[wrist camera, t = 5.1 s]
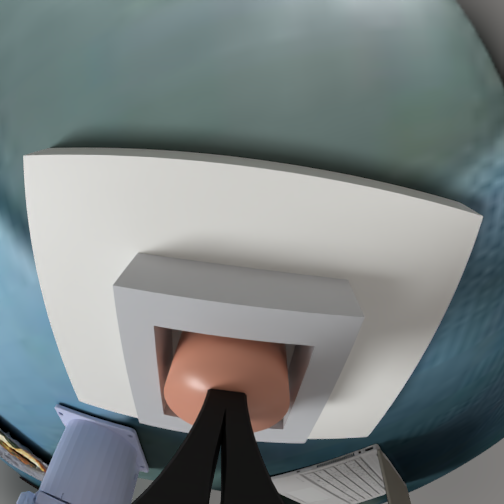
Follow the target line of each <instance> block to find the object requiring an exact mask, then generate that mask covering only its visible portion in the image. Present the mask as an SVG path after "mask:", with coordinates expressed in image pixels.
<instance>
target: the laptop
mask: <svg viewBox="0 0 504 504" xmlns="http://www.w3.org/2000/svg"><path fill="white" fill-rule="evenodd" d="M353 453H354V455H355V456H353V457H352V456H351V454H352V455H353ZM349 454H350V456H351V457H350V456H349ZM349 454H346V455H344V456H345V459H344V456H341V457H338V458H339V460H340V458H341V460H340V461H339V460H338V462H337V460H336V462H335V459H338V458H335V459H332V460H329V461H330V463H331V461H332V464H328V463H327V465H326V462H329V461H326V462H323V463H319V464H316V465H313V466H310V467H306V468H303V469H300V470H296V471H292V472H289V473H285V474H281V475H277V476H273V477H271V479H272V481H273V483H274V485H275V487H276V489H277V491H278V493H280V494H282V495H284V496H286V497H288V498H290V499H292V500H295V501H297V502H299V503H301V504H356V503H360V502H363V501H366V500H369V499H372V498H375V497H378V496H381V495H384V494H386V495H387V500H388V504H411V502H410V498H409V494H408V490H407V487H406V484H405V482H403V480H402V478H401V477H400V475H399V474H398V472H397V471H396V469H395V468H394V467H393V465H392V464H391V462H390V461H389V459H388V458H387V457H386V455H385V454H384V453H383V452H382V451H381V449H380V447H379V445H378V444H374V445H371V446H368V447H366V448H363V449H360V450H358V451H355V452H352V453H349ZM347 455H348V456H349V458H348V456H347ZM346 456H347V459H346ZM342 457H343V460H342ZM333 460H334V463H333ZM324 463H325V466H324ZM320 464H321V466H320V467H319V466H318V468H317V465H320ZM322 464H323V466H322Z"/></svg>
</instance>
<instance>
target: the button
mask: <svg viewBox="0 0 504 504" xmlns="http://www.w3.org/2000/svg"><path fill="white" fill-rule="evenodd" d="M209 389H219V390H226V391H235V392H244V393H245V394H246V395H247V404H248V411H249V416H250V421H251V425H252V429H253V432H258V431H262V430H265V429H267V428H269V427H271V426H273V425H275V424H276V423H278V422H279V421H280V420H281V419H282V418H283V417H284V416H285V415H286V413H287V412H288V410H289V406H290V394H289V381H288V368H287V356H286V346H285V344H284V343H274V342H264V341H255V340H246V339H238V338H230V337H222V336H215V335H208V334H201V333H194V332H188V331H182V333H181V335H180V339H179V342H178V345H177V348H176V351H175V354H174V357H173V360H172V364H171V367H170V370H169V373H168V376H167V380H166V383H165V387H164V397H165V400H166V402H167V404H168V406H169V407H170V409H171V410H172V411H173V412H174V413H175V414H176V415H177V416H178V417H180V418H181V419H182V420H184V421H186V422H187V423H189V424H191V425H193V424H194V422H195V420H196V418H197V416H198V414H199V412H200V410H201V408H202V405H203V403H204V400H205V397H206V394H207V391H208V390H209Z"/></svg>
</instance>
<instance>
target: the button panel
mask: <svg viewBox="0 0 504 504" xmlns="http://www.w3.org/2000/svg"><path fill="white" fill-rule="evenodd" d="M23 159H24V180H25V194H26V204H27V213H28V221H29V229H30V235H31V242H32V248H33V253H34V259H35V264H36V269H37V273H38V278H39V282H40V287H41V291H42V295H43V299H44V302H45V306H46V310H47V313H48V317H49V320H50V324H51V327H52V330H53V333H54V336H55V340H56V343H57V346H58V348H59V351H60V354H61V357H62V360H63V362H64V365H65V368H66V370H67V373H68V375H69V378H70V380H71V383H72V385H73V388H74V390H75V392H76V395H77V397H78V399H79V401H81V402H84V403H87V404H90V405H93V406H96V407H99V408H103V409H106V410H109V411H113V412H116V413H120V414H124V415H128V416H132V417H136V418H138V419H139V422H140V423H142V424H146V425H150V426H155V427H159V428H164V429H169V430H174V431H180V432H185V433H189V431H190V429H191V428H192V426H193V425H191V424H189V423H187V422H186V421H184V420H182V419H181V418H180V417H178V416H177V415H176V414H175V413H174V412H173V411H172V410H171V409H170V407H169V406H168V404H167V402H166V400H165V397H164V387H165V383H166V380H167V376H168V373H169V370H170V367H171V364H172V360H173V357H174V354H175V351H176V348H177V345H178V342H179V339H180V335H181V333H182V331H188V332H194V333H201V334H208V335H215V336H222V337H230V338H238V339H246V340H255V341H264V342H274V343H284V344H285V346H286V356H287V368H288V381H289V394H290V406H289V410H288V412H287V413H286V415H285V416H284V417H283V418H282V419H281V420H280V421H279V422H278V423H276V424H275V425H273V426H271V427H269V428H267V429H265V430H262V431H258V432H254V436H255V439H256V441H259V442H276V443H305V442H306V440H307V439H337V438H357V437H368V436H369V434H370V433H371V432H372V431H373V429H374V428H375V427H376V425H377V424H378V423H379V421H380V420H381V419H382V417H383V416H384V414H385V413H386V412H387V410H388V409H389V407H390V406H391V405H392V403H393V402H394V400H395V399H396V397H397V396H398V394H399V393H400V391H401V390H402V388H403V387H404V385H405V384H406V382H407V380H408V379H409V377H410V376H411V374H412V372H413V371H414V369H415V367H416V366H417V364H418V362H419V361H420V359H421V357H422V356H423V354H424V352H425V350H426V349H427V347H428V345H429V343H430V341H431V339H432V338H433V336H434V334H435V332H436V330H437V328H438V326H439V324H440V322H441V320H442V318H443V316H444V314H445V312H446V310H447V308H448V306H449V304H450V302H451V299H452V297H453V295H454V293H455V291H456V288H457V286H458V284H459V281H460V279H461V277H462V274H463V272H464V269H465V267H466V264H467V262H468V259H469V256H470V254H471V251H472V248H473V246H474V243H475V240H476V237H477V234H478V231H479V228H480V225H481V222H482V219H483V216H482V215H480V214H479V213H477V212H475V211H474V210H472V209H470V208H469V207H467V206H465V205H464V204H462V203H460V202H457V201H454V200H450V199H447V198H443V197H440V196H436V195H432V194H429V193H425V192H421V191H417V190H413V189H410V188H406V187H402V186H397V185H393V184H389V183H385V182H380V181H376V180H371V179H367V178H362V177H357V176H353V175H348V174H343V173H338V172H332V171H327V170H322V169H316V168H310V167H304V166H298V165H292V164H286V163H279V162H272V161H265V160H258V159H250V158H242V157H234V156H225V155H216V154H206V153H195V152H183V151H169V150H153V149H132V148H47V149H44V150H40V151H37V152H34V153H30V154H27V155H24V156H23Z"/></svg>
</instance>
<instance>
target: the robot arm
mask: <svg viewBox="0 0 504 504" xmlns="http://www.w3.org/2000/svg"><path fill="white" fill-rule="evenodd" d="M55 410H56V411H57V413H58V415H59V417H60V418H61V420H62V422H63V423H64V425H65V427H66V428H65V430H64V432H63V434H62V437H61V439H60V441H59V443H58V445H57V448H56V450H55V452H54V454H53V457H52V459H51V461H50V464H49V466H48V468H47V471H46V473H45V476H44V478H43V481H42V483H41V486H40V488H39V491H38V492H36V493H35V494H34V493H32V492H30V491H27V492H22V493H21V494H20V496H19V498H18V501H17V503H16V504H209V498H210V492H211V487H212V483H213V478H214V474H215V469H216V465H217V460H218V455H219V451H220V446H221V503H220V504H285V503H284V502H283V500H282V498H281V496H280V495H279V493H278V491H277V489H276V487H275V485H274V483H273V481H272V479H271V477H270V475H269V473H268V471H267V469H266V466H265V464H264V461H263V459H262V456H261V454H260V451H259V448H258V445H257V442H256V439H255V436H254V432H253V429H252V425H251V421H250V416H249V411H248V404H247V395H246V394H245V393H244V392H235V391H226V390H219V389H209V390H208V391H207V394H206V397H205V400H204V403H203V405H202V408H201V410H200V412H199V414H198V416H197V418H196V420H195V422H194V424H193V426H192V428H191V429H190V431H189V433H188V435H187V437H186V438H185V440H184V441H183V443H182V444H181V446H180V447H179V449H178V450H177V452H176V454H175V455H174V456H173V458H172V459H171V460H170V462H169V463H168V464H167V466H166V467H165V468H164V470H163V471H162V472H161V473H160V474H159V476H158V477H157V478H156V479H155V480H154V481H153V482H152V484H151V485H150V486H149V487H148V488H147V489H146V490H145V491H144V492H143V493H142V494H141V495H140V496H139V497H138V498H137V499H136V500H135V501H134V502H133V503H131V501H132V497H133V493H134V489H135V485H136V482H137V478H138V474H139V471H143V472H149V467H148V464H147V462H146V459H145V456H144V453H143V451H142V448H141V445H140V442H139V439H138V436H137V433H136V431H135V430H134V429H133V428H130V427H127V426H123V425H119V424H116V423H112V422H109V421H105V420H102V419H99V418H96V417H93V416H90V415H87V414H84V413H81V412H78V411H75V410H72V409H69V408H67V407H64V406H61V405H59V404H56V406H55Z"/></svg>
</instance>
